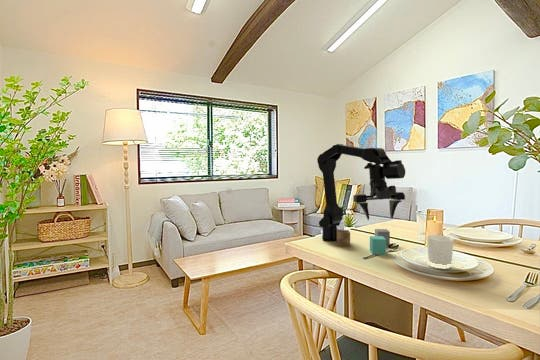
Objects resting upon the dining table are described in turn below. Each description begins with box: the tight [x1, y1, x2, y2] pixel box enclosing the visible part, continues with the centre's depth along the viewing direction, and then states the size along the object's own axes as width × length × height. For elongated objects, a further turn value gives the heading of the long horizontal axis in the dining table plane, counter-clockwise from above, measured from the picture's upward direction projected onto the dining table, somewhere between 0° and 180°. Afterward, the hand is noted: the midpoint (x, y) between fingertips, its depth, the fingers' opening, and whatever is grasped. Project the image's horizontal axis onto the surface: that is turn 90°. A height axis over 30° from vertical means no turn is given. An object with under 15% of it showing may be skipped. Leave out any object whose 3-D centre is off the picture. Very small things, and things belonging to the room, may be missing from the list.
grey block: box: [374, 228, 391, 247], centre depth 136 cm, size 5×5×6 cm
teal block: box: [369, 235, 387, 256], centre depth 123 cm, size 5×5×6 cm
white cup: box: [426, 234, 455, 265], centre depth 107 cm, size 8×8×10 cm
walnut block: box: [336, 229, 351, 248], centre depth 134 cm, size 5×5×6 cm
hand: (379, 219), depth 123 cm, fingers open, 9 cm apart
